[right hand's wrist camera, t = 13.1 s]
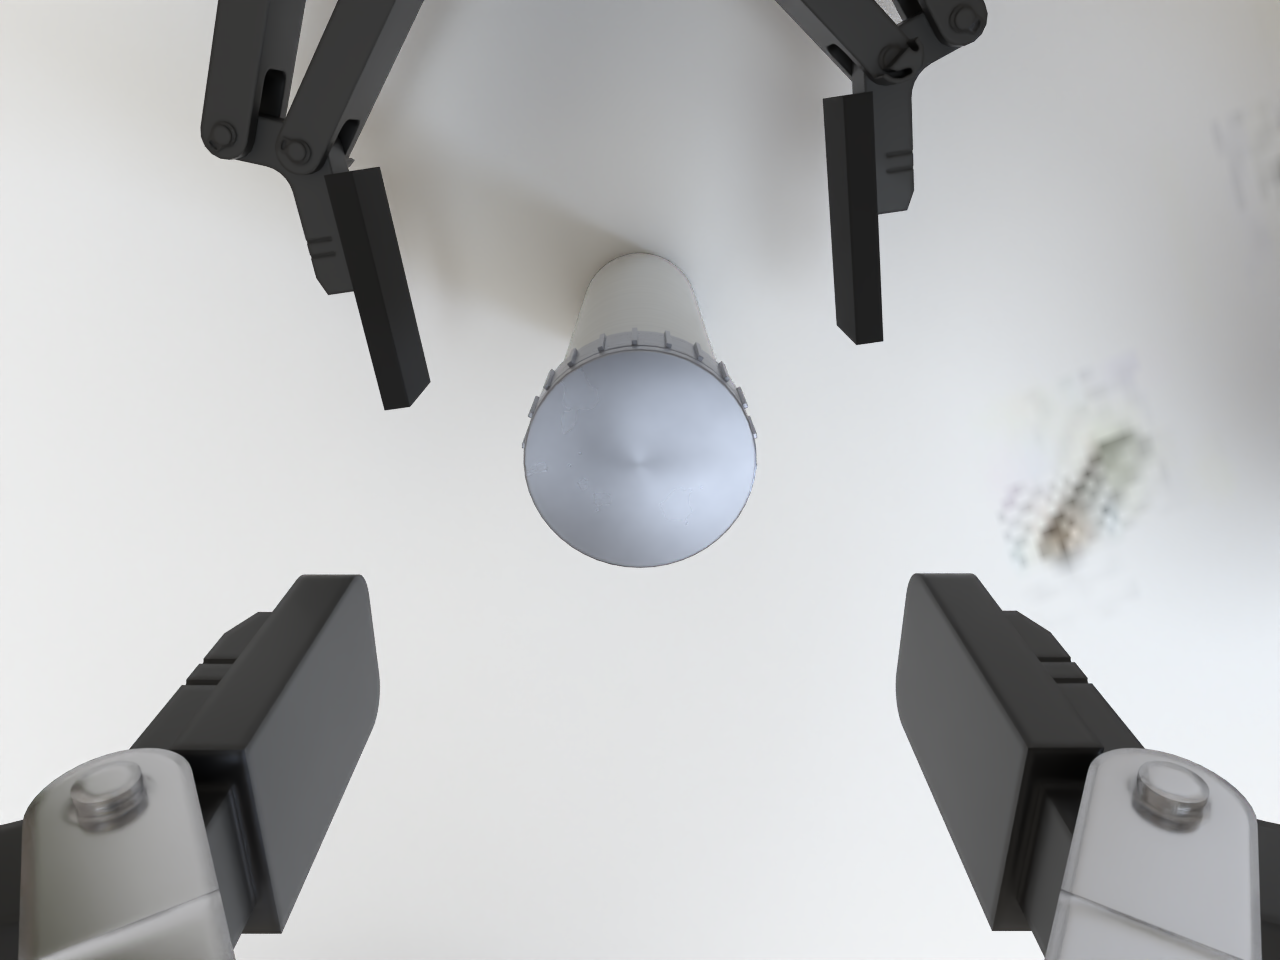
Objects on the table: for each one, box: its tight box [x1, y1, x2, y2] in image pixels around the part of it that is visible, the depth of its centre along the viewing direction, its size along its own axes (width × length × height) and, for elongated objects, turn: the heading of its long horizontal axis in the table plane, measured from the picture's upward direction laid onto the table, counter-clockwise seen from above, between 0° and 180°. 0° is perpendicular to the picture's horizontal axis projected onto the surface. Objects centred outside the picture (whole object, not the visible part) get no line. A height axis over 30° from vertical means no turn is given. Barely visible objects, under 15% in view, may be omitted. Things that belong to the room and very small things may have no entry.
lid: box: [522, 328, 757, 568], centre depth 18 cm, size 5×5×2 cm
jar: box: [564, 253, 716, 361], centre depth 25 cm, size 4×4×16 cm
